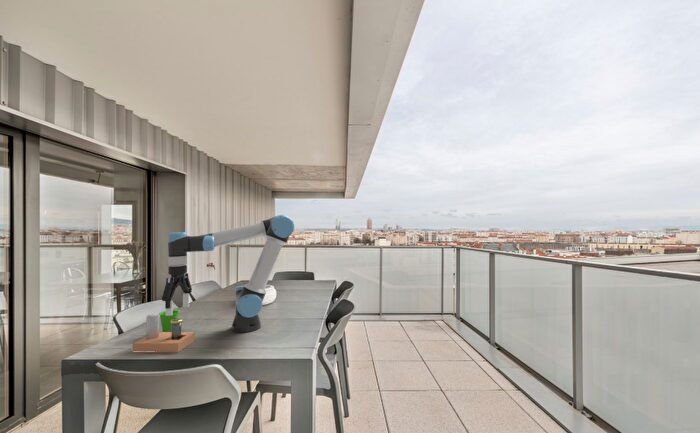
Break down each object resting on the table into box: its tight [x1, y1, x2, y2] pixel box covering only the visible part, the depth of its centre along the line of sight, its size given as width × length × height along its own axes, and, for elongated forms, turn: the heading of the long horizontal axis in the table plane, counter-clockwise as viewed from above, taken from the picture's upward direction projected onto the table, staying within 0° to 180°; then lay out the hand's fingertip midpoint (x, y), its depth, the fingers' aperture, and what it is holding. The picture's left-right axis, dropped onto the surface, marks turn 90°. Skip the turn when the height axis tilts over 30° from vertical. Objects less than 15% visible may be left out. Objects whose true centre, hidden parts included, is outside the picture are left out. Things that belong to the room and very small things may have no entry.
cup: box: [159, 309, 180, 332], centre depth 154 cm, size 9×9×11 cm
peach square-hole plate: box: [132, 313, 196, 353], centre depth 138 cm, size 20×14×14 cm
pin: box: [171, 317, 184, 340], centre depth 138 cm, size 5×5×12 cm
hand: (177, 311), depth 138 cm, fingers open, 13 cm apart
